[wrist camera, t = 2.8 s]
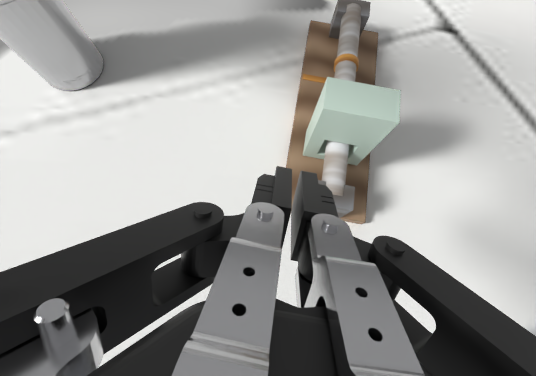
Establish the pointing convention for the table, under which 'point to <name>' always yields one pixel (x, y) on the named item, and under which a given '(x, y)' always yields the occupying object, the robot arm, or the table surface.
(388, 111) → the pale green rectangular block
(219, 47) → the table surface
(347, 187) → the pipe stand
